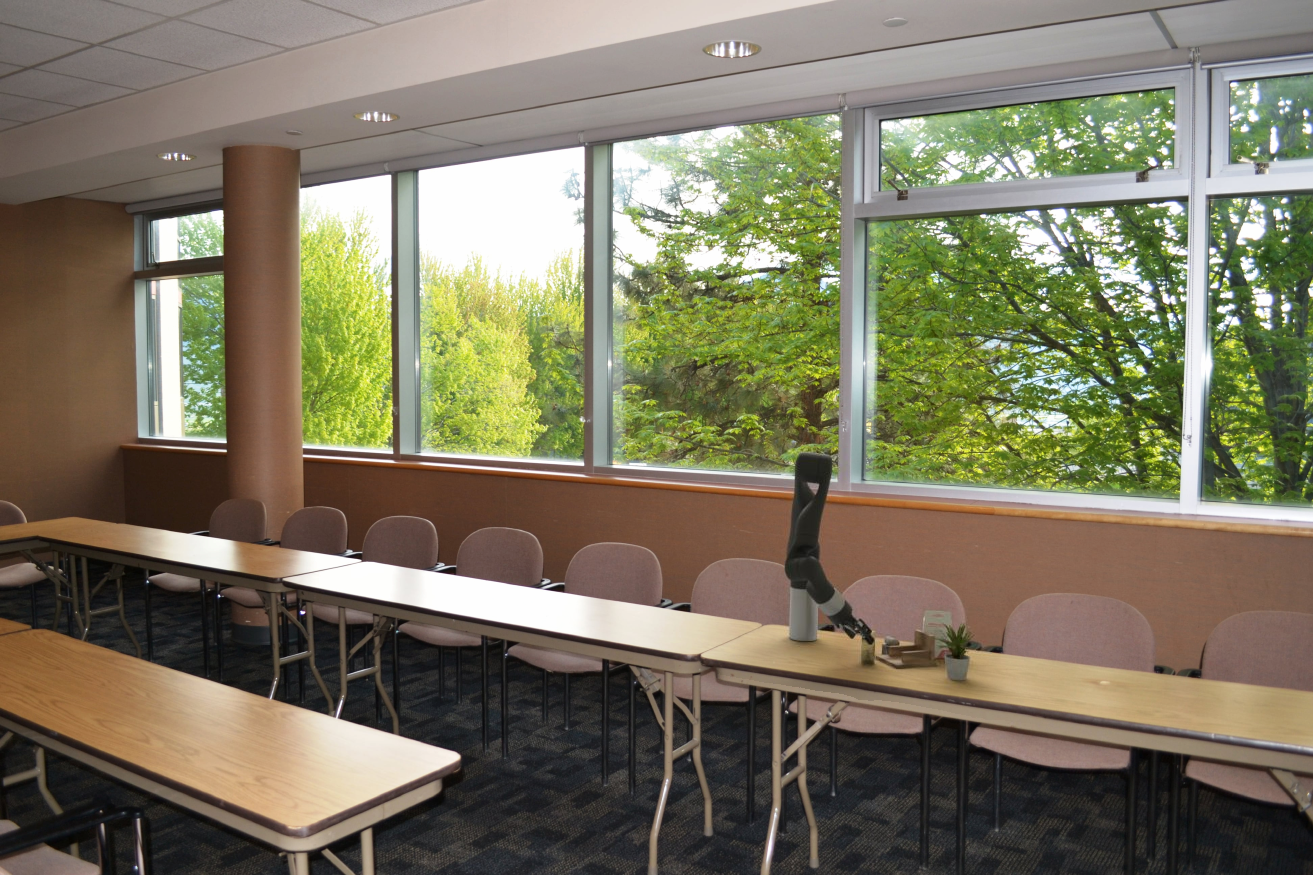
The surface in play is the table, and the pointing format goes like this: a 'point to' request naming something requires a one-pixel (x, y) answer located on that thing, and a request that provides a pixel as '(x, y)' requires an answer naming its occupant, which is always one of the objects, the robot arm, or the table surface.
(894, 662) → the cradle
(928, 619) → the ink cartridge box
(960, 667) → the house plant
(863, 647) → the spacer
